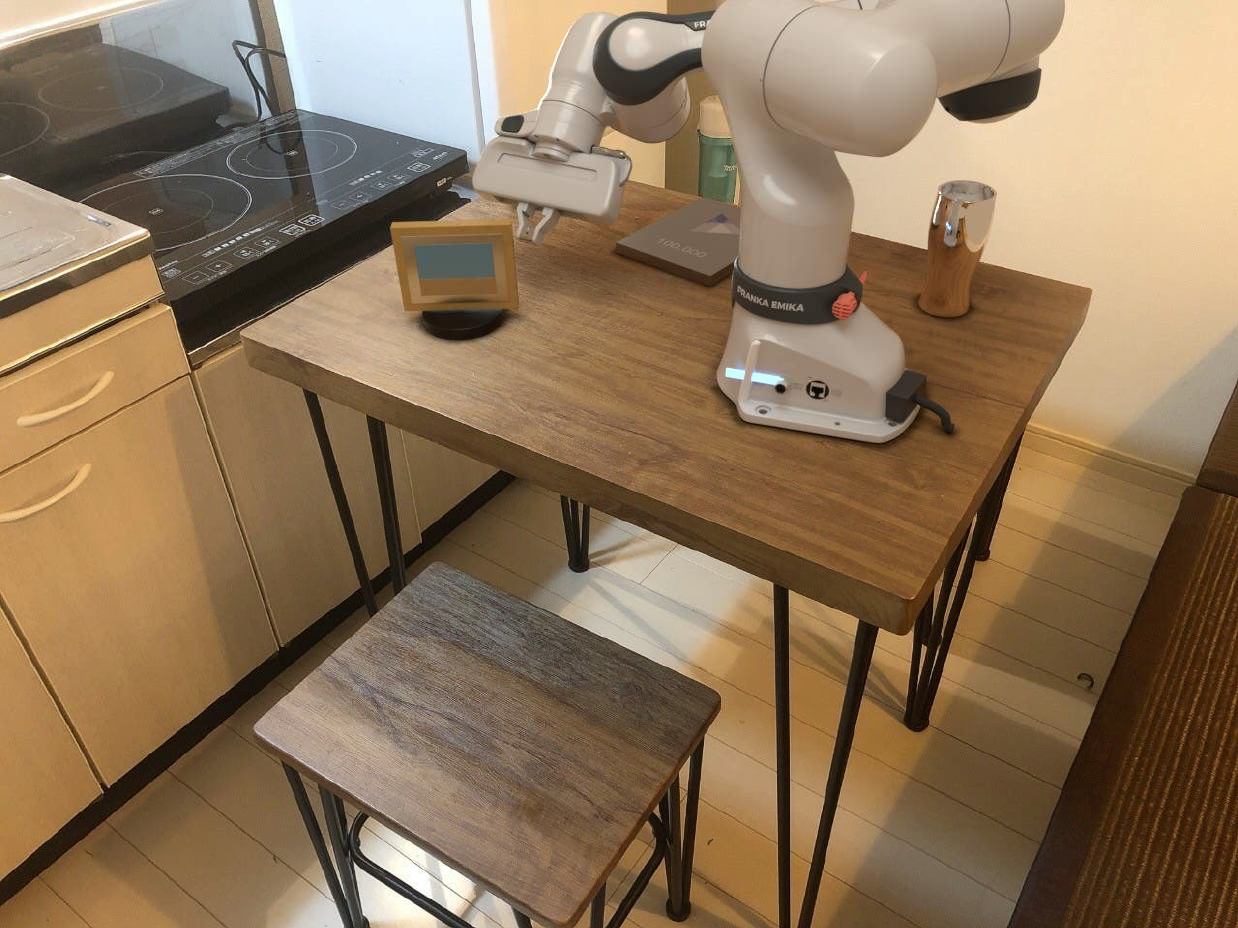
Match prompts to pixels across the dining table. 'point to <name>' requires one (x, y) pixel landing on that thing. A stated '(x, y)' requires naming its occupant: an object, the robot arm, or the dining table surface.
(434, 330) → the frame stand
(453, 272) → the picture frame
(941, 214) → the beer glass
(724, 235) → the play button award
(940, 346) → the dining table surface
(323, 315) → the dining table surface
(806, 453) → the dining table surface
